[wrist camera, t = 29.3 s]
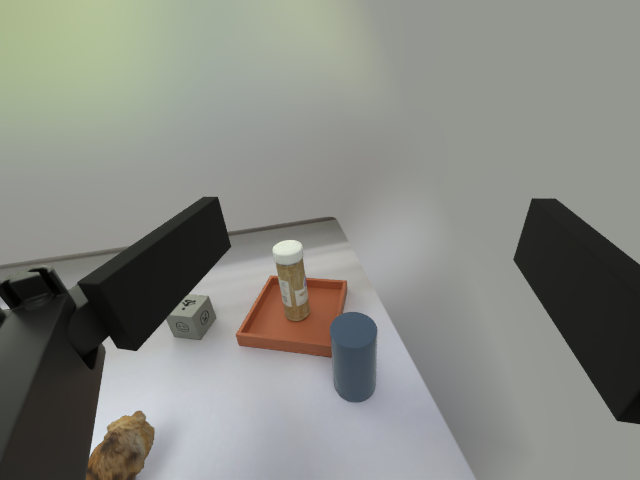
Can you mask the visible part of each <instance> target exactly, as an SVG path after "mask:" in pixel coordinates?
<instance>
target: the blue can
mask: <svg viewBox="0 0 640 480" xmlns="http://www.w3.org/2000/svg"><path fill="white" fill-rule="evenodd" d="M330 340H331V352H332V364H333V376H334V386H335V389H336V391H337V392H338V394H339V395H340V396H341V397H342V398H344V399H346V400H348V401H351V402H361V401H364V400H366V399H368V398H369V397H370V396H371V395H372V394H373V392H374V390H375V386H376V354H377V327H376V324H375V323H374V321H373V320H372V319H371V318H370V317H368V316H367V315H364V314H362V313H357V312H349V313H344V314H341V315H339V316H338V317H336V318H335V319H334V320H333V321H332V323H331V325H330Z"/></svg>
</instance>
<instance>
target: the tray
mask: <svg viewBox="0 0 640 480" xmlns="http://www.w3.org/2000/svg"><path fill="white" fill-rule="evenodd" d="M306 284H307V291H308V301H309V307H310V314H309V315H308V317H307V318H305V319H303V320H301V321H290V320H288V319H287V318H286V316H285V309H284V303H283V301H282V295H281V290H280V285H279V279H278V276H270V277H269V279H268V281H267V282H266V284H265V286H264V287H263V289H262V291H261V293H260V294H259V296H258V298H257V299H256V301H255V303H254V305H253V306H252V308H251V310H250V311H249V313H248V315H247V316H246V318H245V320H244V322H243V323H242V325H241V327H240V328H239V330H238V332H237V333H236V337H237V340H238V344H239V345H241V346H248V347H256V348H264V349H272V350H280V351H287V352H295V353H303V354H311V355H319V356H326V357H332V352H331V340H330V325H331V323H332V321H333V320H334V319H335V318H336V317H338V316H339V315H341V314H343V309H344V304H345V299H346V294H347V281H343V280H329V279H314V278H306Z"/></svg>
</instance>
